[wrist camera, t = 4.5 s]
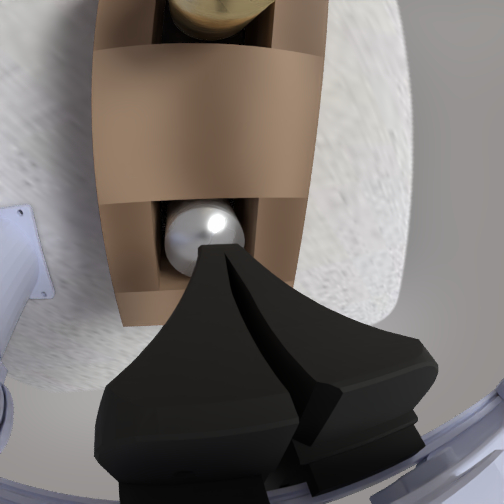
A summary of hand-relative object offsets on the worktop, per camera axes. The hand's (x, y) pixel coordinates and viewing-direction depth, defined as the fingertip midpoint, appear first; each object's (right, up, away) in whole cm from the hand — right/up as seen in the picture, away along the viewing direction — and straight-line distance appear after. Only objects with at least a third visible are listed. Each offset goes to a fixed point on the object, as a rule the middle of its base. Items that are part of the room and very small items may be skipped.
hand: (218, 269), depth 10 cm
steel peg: (-2, +4, +9) cm, 10 cm away
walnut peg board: (-2, +9, +6) cm, 11 cm away
